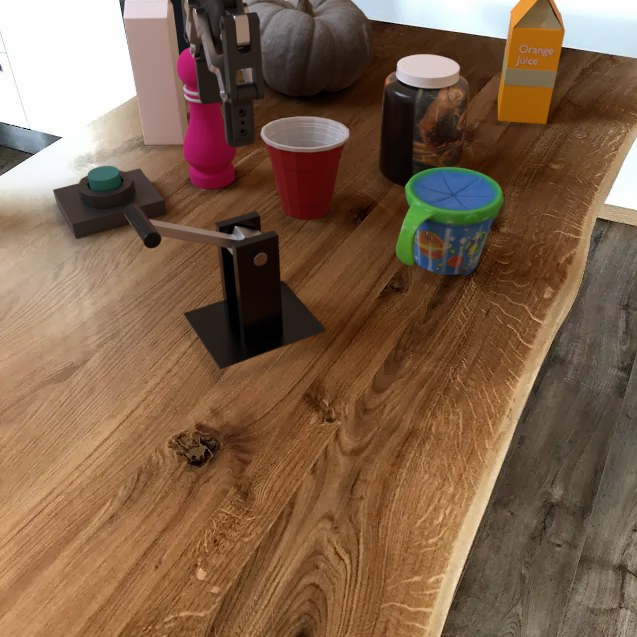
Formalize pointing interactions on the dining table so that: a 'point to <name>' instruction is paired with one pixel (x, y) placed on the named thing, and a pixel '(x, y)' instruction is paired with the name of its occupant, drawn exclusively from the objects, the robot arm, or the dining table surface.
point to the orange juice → (530, 61)
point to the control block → (107, 203)
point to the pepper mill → (204, 134)
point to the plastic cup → (305, 162)
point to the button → (104, 178)
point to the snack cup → (448, 219)
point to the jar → (422, 117)
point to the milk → (156, 70)
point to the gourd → (312, 44)
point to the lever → (180, 231)
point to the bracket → (251, 300)
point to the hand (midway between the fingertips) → (225, 122)
